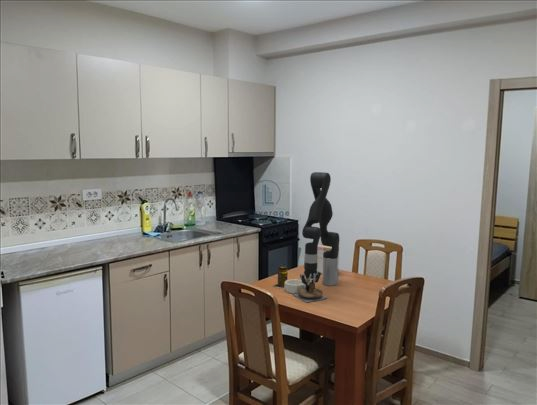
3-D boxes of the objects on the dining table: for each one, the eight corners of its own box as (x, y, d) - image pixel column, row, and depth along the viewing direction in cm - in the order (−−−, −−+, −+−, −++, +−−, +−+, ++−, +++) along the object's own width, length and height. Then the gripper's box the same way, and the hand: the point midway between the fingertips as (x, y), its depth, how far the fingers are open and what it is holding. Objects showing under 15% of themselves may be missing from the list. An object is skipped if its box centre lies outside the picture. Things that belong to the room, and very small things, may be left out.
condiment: (290, 286, 262) (290, 267, 261) (278, 288, 258) (279, 269, 256) (283, 283, 268) (283, 265, 267) (272, 285, 264) (272, 266, 262)
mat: (312, 291, 253) (312, 290, 253) (327, 299, 241) (327, 297, 241) (293, 295, 246) (293, 294, 246) (306, 303, 234) (306, 301, 234)
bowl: (297, 286, 263) (297, 278, 263) (308, 291, 253) (309, 283, 252) (281, 289, 257) (281, 281, 257) (292, 294, 247) (292, 286, 246)
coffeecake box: (338, 274, 289) (339, 246, 287) (333, 277, 284) (334, 248, 281) (319, 270, 298) (320, 243, 296) (314, 272, 293) (315, 245, 291)
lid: (312, 288, 253) (313, 278, 252) (327, 295, 241) (327, 284, 240) (293, 291, 246) (293, 281, 245) (307, 299, 234) (307, 288, 233)
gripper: (316, 258, 248) (316, 286, 250) (296, 261, 241) (296, 290, 243) (324, 261, 241) (323, 290, 243) (304, 264, 234) (303, 294, 236)
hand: (310, 290), depth 243 cm, fingers closed on lid, 3 cm apart
